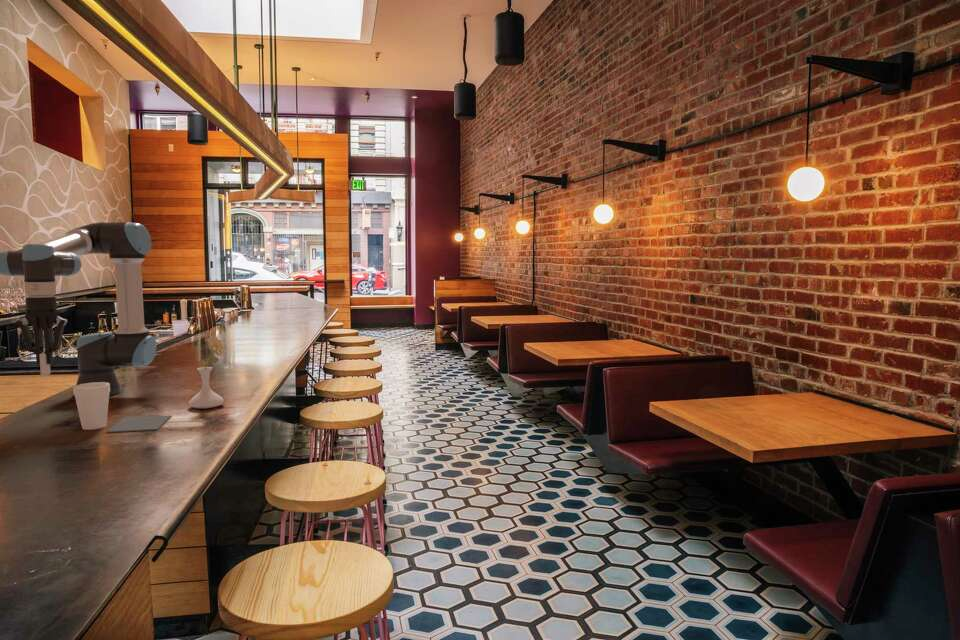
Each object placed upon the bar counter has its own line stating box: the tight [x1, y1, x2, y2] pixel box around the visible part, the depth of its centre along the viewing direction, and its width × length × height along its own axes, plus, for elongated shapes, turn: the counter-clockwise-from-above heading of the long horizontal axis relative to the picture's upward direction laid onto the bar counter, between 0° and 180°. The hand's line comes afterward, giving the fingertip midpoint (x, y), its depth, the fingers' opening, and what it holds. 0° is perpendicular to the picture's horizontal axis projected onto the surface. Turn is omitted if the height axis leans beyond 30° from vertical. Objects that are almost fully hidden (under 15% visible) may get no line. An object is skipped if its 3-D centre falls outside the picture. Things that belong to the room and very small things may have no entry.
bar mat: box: [105, 414, 172, 434], centre depth 191 cm, size 16×14×1 cm
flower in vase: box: [187, 334, 226, 409], centre depth 212 cm, size 13×11×25 cm
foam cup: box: [72, 382, 110, 431], centre depth 187 cm, size 10×9×13 cm
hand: (45, 374), depth 183 cm, fingers closed
